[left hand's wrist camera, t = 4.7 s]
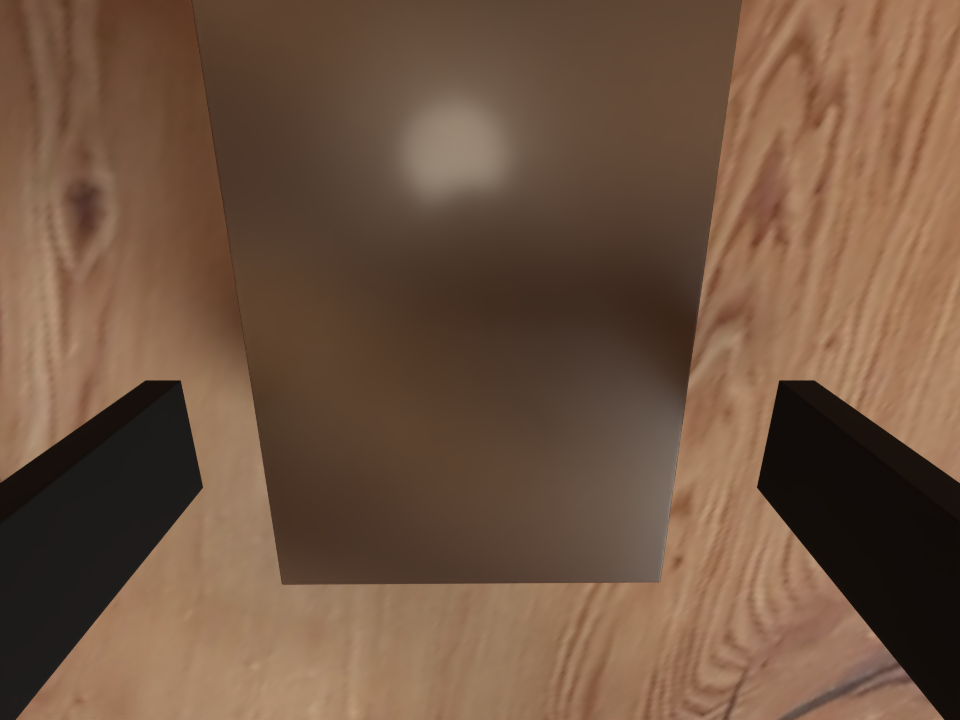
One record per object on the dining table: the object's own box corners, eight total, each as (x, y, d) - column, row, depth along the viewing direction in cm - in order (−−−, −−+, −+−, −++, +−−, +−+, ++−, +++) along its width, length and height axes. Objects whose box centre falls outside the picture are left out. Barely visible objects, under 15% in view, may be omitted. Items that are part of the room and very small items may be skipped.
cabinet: (289, -138, 16) (130, -386, 9) (648, -136, 16) (797, -382, 9) (345, 442, 23) (281, 585, 15) (599, 441, 23) (660, 582, 16)
